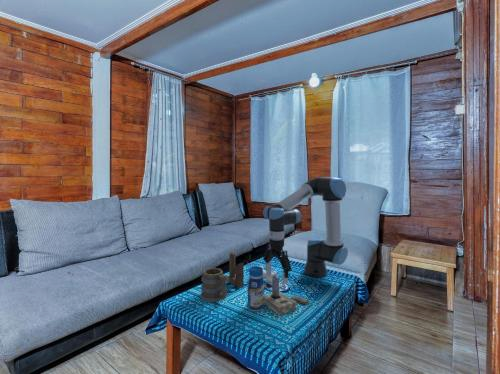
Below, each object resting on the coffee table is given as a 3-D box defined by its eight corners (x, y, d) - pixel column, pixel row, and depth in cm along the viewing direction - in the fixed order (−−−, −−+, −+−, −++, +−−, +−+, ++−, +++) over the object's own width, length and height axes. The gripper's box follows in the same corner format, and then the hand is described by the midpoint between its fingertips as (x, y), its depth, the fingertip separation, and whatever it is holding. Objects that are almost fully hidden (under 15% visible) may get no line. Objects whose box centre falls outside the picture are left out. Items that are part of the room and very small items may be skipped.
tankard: (196, 295, 149) (196, 268, 148) (216, 289, 157) (216, 263, 156) (216, 310, 133) (216, 280, 132) (237, 302, 141) (237, 274, 140)
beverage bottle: (254, 301, 142) (254, 264, 141) (267, 307, 137) (267, 268, 136) (243, 308, 136) (244, 268, 134) (256, 314, 130) (257, 273, 129)
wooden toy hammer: (238, 287, 159) (239, 257, 157) (227, 282, 167) (227, 253, 165) (243, 286, 161) (244, 256, 160) (232, 280, 169) (232, 252, 168)
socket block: (278, 297, 147) (279, 291, 147) (296, 308, 136) (296, 301, 136) (262, 302, 142) (262, 296, 141) (279, 314, 130) (279, 307, 130)
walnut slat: (308, 303, 142) (308, 300, 142) (306, 305, 140) (306, 302, 140) (292, 298, 147) (293, 295, 147) (290, 300, 145) (290, 297, 145)
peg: (276, 300, 144) (276, 274, 143) (280, 303, 141) (280, 277, 140) (270, 302, 142) (271, 276, 141) (274, 305, 139) (275, 278, 138)
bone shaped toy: (252, 279, 172) (252, 267, 171) (262, 275, 178) (262, 263, 177) (269, 288, 161) (268, 274, 160) (279, 282, 166) (279, 270, 165)
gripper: (256, 234, 147) (257, 272, 149) (287, 245, 126) (287, 289, 128) (268, 232, 151) (268, 269, 153) (299, 243, 130) (298, 285, 132)
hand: (276, 278), depth 141 cm, fingers open, 13 cm apart
